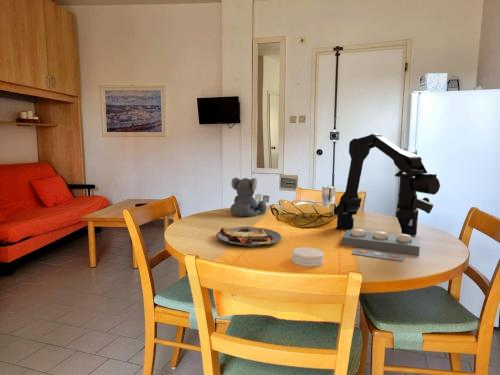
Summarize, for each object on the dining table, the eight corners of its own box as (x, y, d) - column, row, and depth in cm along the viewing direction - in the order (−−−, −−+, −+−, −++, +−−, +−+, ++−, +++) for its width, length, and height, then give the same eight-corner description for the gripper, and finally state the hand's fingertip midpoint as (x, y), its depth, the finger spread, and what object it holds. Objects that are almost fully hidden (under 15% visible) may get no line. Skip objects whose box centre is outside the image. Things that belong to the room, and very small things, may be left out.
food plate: (217, 249, 121) (218, 239, 121) (214, 232, 144) (214, 224, 144) (287, 249, 125) (287, 239, 125) (273, 232, 148) (273, 224, 148)
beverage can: (417, 237, 140) (420, 208, 139) (402, 236, 141) (405, 207, 140) (414, 234, 146) (416, 206, 144) (399, 233, 147) (402, 205, 145)
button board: (341, 244, 129) (341, 237, 129) (346, 236, 140) (346, 229, 140) (418, 255, 119) (419, 246, 118) (417, 245, 130) (418, 237, 129)
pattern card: (351, 254, 119) (351, 253, 119) (354, 248, 125) (354, 247, 125) (402, 261, 112) (402, 260, 112) (402, 255, 119) (403, 254, 119)
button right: (396, 244, 125) (397, 236, 125) (397, 241, 129) (397, 233, 129) (410, 245, 123) (410, 237, 123) (410, 242, 127) (410, 234, 127)
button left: (351, 238, 131) (351, 230, 131) (352, 235, 135) (353, 228, 135) (363, 240, 130) (363, 232, 129) (364, 237, 134) (364, 229, 133)
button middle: (373, 241, 128) (373, 233, 128) (374, 238, 132) (374, 230, 132) (386, 242, 126) (386, 234, 126) (386, 239, 130) (387, 232, 130)
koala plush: (268, 213, 183) (269, 176, 181) (251, 219, 168) (252, 179, 165) (240, 209, 192) (240, 174, 189) (221, 215, 177) (222, 177, 174)
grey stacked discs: (329, 263, 110) (330, 252, 110) (307, 270, 104) (307, 258, 104) (307, 254, 118) (307, 244, 118) (285, 260, 112) (285, 250, 112)
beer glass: (318, 214, 182) (320, 186, 180) (331, 214, 183) (333, 186, 180) (322, 217, 175) (324, 187, 173) (336, 217, 176) (337, 187, 174)
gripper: (435, 196, 112) (430, 242, 114) (431, 188, 129) (427, 229, 131) (397, 193, 116) (394, 238, 118) (398, 186, 133) (395, 226, 135)
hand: (404, 233), depth 126 cm, fingers closed
